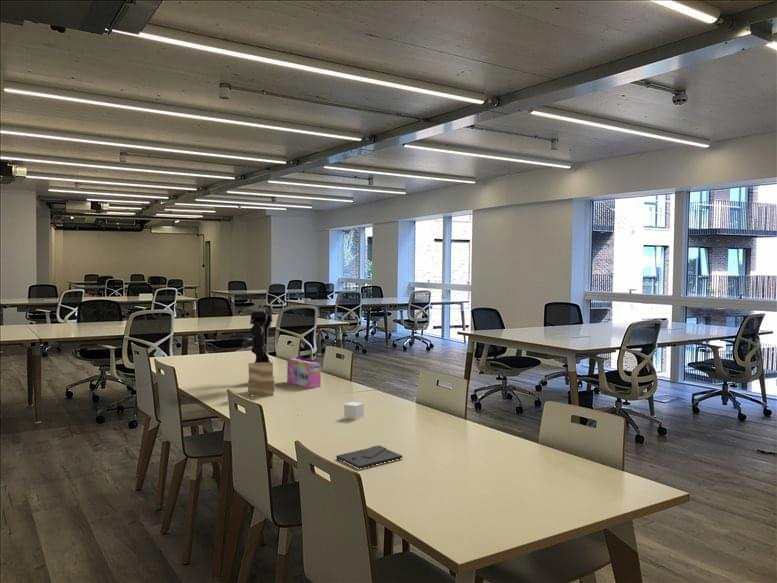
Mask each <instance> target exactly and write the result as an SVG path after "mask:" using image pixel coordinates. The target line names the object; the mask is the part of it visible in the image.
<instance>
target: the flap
mask: <svg viewBox="0 0 777 583" xmlns="http://www.w3.org/2000/svg"><path fill="white" fill-rule="evenodd" d="M247 365H248V379H249V382H261V381H273V376H274V369H273V368H274V367H273V366H274V364H273V362H271V363H255V362H248V364H247Z"/></svg>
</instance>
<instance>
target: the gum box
mask: <svg viewBox="0 0 777 583" xmlns="http://www.w3.org/2000/svg"><path fill="white" fill-rule="evenodd" d="M286 362H287V363H286V365H287V367H286V368H287V370H286V374H287V375H286V376H287V377H286V379H287V383H289V382H290V383H289V384H292V383H294V384H293V385H295V384H298V385H297V386H299V385H301V386H300V387H302V386H304V387H303V388H305V387H308V388H307V389H312V388H311V387H316V388H320V386H321V382H322V381H321V380H322V379H321V375H322V374H321V373H322V372H321V368H322V367H321V366H322V363H321V361H319V360H313V359H310V358H305V357H301V356H296V357H295V358H289V357H287V361H286ZM321 387H322V386H321Z"/></svg>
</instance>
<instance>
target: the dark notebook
mask: <svg viewBox="0 0 777 583" xmlns="http://www.w3.org/2000/svg"><path fill="white" fill-rule="evenodd" d="M335 457H336V458H337V459H340V460H342V461H345V462H347V463H349V464H351V465H353V466H355V467H357V468H359V469H360V468H364V467H368V466H372V465H376V464H380V463H384V462H388V461H392V460H396V459H400V458H402V459H403V455H402V454H399V453H397V452H395V451H394V450H393V451H392V450H390V449H388V448H387V447H385V446H382V445H380V444H379V445H375V446H370V447H367V448H363V449H360V450H355V451H350V452H346V453H342V454H338V455H336V456H335ZM337 459H336V460H337Z"/></svg>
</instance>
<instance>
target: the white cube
mask: <svg viewBox="0 0 777 583" xmlns="http://www.w3.org/2000/svg"><path fill="white" fill-rule="evenodd" d="M364 405H365V404H364V402H357V401H350V402H347V403H345V404H344V405H343V409H344V410H343V411H344V412H343V413H344V415H343V416H344V417H346V418H345V419H347V418H351V419H350V420H353V419H357V420H359V419H361V418H360V417H362V418H364ZM358 418H359V419H358Z"/></svg>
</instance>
